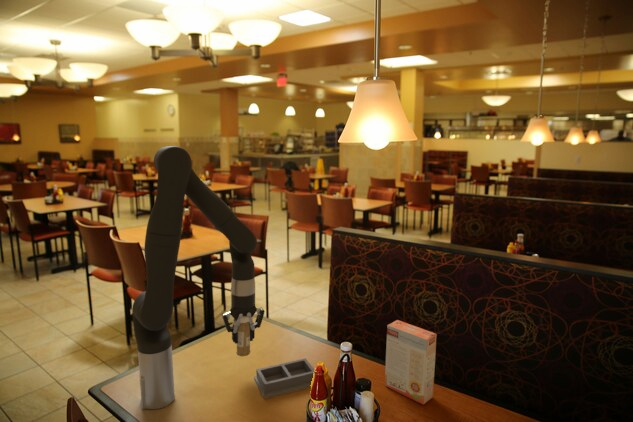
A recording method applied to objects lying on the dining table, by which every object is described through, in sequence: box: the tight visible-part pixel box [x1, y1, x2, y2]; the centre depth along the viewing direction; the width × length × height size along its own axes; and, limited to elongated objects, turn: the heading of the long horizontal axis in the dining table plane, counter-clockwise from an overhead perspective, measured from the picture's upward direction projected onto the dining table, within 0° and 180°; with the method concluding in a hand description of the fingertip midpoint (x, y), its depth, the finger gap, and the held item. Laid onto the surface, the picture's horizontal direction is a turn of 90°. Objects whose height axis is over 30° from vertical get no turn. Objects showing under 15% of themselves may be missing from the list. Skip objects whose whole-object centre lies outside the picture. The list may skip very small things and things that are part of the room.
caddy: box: [253, 358, 315, 400], centre depth 134 cm, size 18×11×4 cm, turn 114°
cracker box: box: [384, 319, 438, 406], centre depth 128 cm, size 14×6×21 cm, turn 45°
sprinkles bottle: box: [236, 316, 251, 357], centre depth 135 cm, size 5×5×13 cm
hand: (243, 340), depth 136 cm, fingers closed on sprinkles bottle, 4 cm apart
